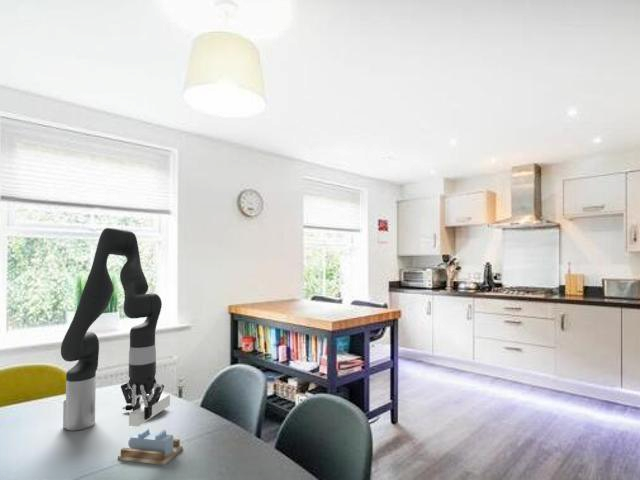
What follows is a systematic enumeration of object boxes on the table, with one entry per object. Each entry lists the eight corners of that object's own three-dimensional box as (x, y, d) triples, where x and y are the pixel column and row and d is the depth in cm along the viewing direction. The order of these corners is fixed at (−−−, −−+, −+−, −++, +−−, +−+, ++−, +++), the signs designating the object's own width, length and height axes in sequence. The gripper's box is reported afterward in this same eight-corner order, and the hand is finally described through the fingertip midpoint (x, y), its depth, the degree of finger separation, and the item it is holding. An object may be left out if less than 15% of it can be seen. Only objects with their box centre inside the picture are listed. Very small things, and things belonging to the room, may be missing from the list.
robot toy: (120, 415, 152) (141, 422, 144) (119, 403, 153) (141, 409, 144) (149, 405, 162) (170, 410, 154) (148, 394, 163) (170, 399, 154)
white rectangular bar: (129, 425, 114) (129, 413, 114) (161, 404, 129) (161, 393, 129) (138, 426, 113) (138, 414, 113) (169, 405, 129) (170, 394, 129)
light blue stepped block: (125, 451, 121) (125, 432, 121) (134, 445, 125) (134, 427, 125) (165, 456, 118) (165, 437, 118) (173, 449, 122) (173, 431, 122)
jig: (117, 459, 118) (117, 449, 118) (138, 444, 127) (138, 434, 127) (164, 465, 115) (164, 454, 115) (182, 448, 124) (182, 439, 124)
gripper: (170, 358, 120) (170, 414, 119) (130, 356, 123) (130, 411, 122) (155, 365, 113) (155, 425, 112) (113, 362, 115) (112, 421, 115)
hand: (142, 417), depth 117 cm, fingers closed on white rectangular bar, 3 cm apart
